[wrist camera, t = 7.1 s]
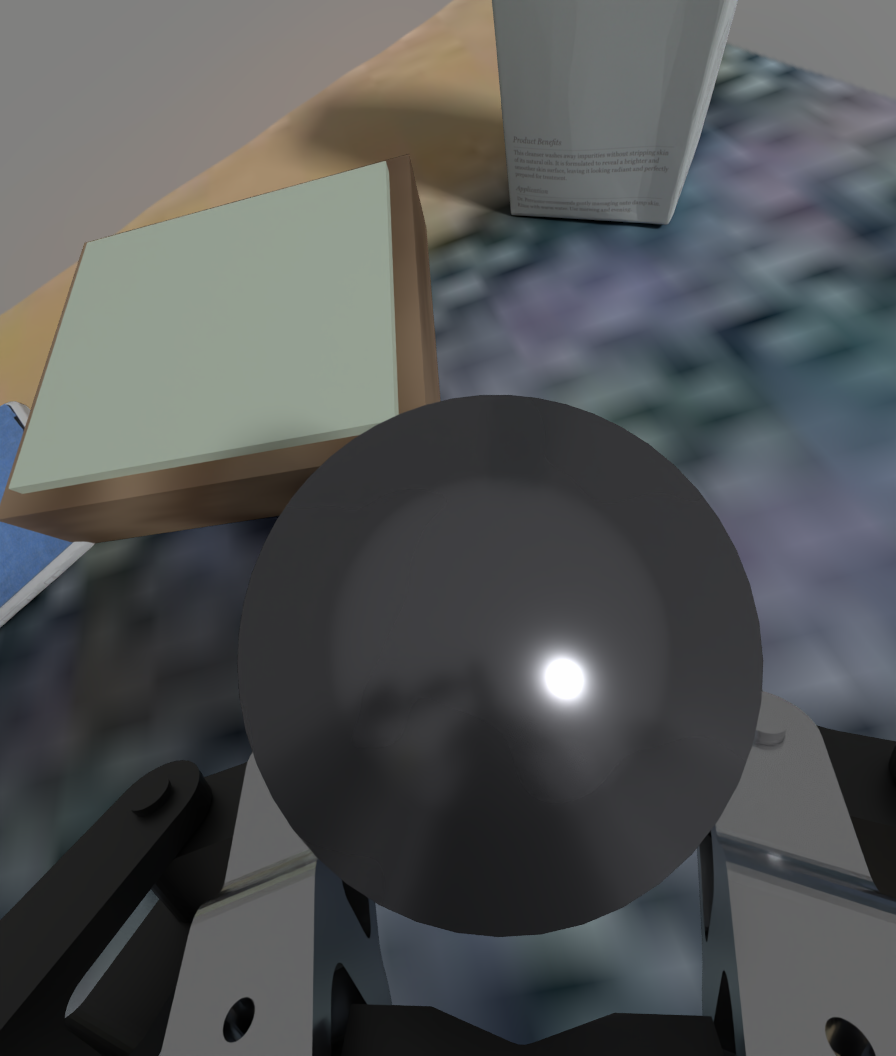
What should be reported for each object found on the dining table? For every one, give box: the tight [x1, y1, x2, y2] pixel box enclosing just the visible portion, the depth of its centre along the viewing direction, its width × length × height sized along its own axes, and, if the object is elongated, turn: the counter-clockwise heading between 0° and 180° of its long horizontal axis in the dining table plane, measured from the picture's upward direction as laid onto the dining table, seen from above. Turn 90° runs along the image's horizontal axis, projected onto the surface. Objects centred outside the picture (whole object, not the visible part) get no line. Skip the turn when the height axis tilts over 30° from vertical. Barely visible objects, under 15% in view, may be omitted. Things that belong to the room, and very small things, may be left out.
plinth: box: [0, 154, 440, 543], centre depth 20 cm, size 18×16×4 cm
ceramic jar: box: [237, 395, 763, 937], centre depth 9 cm, size 5×5×12 cm
